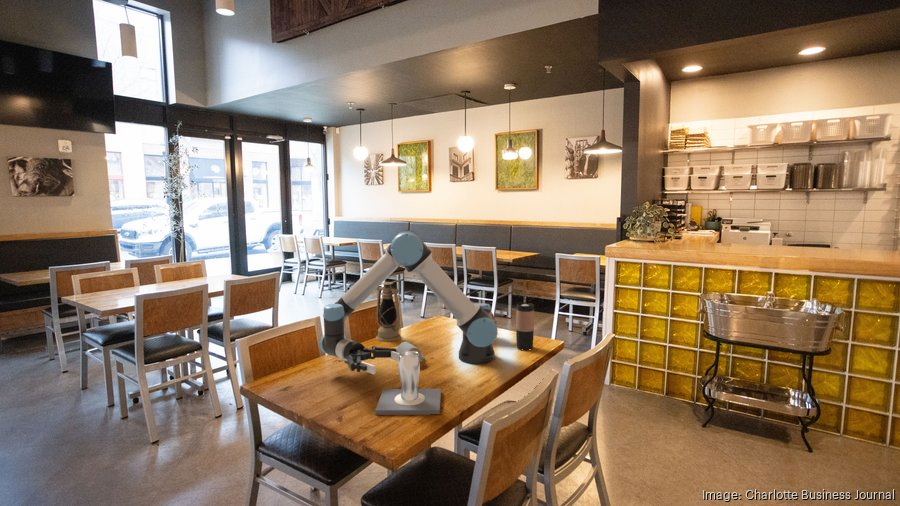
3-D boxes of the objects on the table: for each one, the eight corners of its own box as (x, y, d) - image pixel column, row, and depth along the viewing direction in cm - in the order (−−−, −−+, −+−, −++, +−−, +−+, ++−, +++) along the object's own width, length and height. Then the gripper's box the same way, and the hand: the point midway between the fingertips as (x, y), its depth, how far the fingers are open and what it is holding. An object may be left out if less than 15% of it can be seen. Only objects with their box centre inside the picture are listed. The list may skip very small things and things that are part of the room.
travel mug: (522, 352, 201) (523, 307, 198) (512, 347, 208) (513, 303, 205) (536, 349, 204) (537, 305, 202) (526, 344, 211) (527, 301, 209)
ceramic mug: (406, 367, 184) (406, 348, 183) (395, 361, 191) (395, 343, 190) (428, 361, 191) (428, 343, 190) (417, 356, 197) (417, 338, 196)
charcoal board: (440, 392, 160) (440, 388, 159) (439, 414, 144) (439, 409, 144) (383, 393, 160) (383, 388, 160) (375, 414, 144) (375, 409, 144)
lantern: (408, 337, 223) (407, 275, 219) (391, 343, 213) (389, 279, 210) (386, 332, 231) (384, 273, 228) (368, 338, 222) (367, 276, 218)
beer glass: (399, 394, 155) (398, 350, 153) (420, 393, 155) (419, 350, 154) (398, 403, 148) (397, 358, 146) (420, 402, 148) (419, 357, 147)
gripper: (377, 352, 180) (416, 364, 166) (322, 370, 161) (361, 386, 147) (376, 333, 179) (415, 344, 165) (321, 349, 160) (360, 364, 147)
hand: (390, 364), depth 156 cm, fingers open, 13 cm apart
